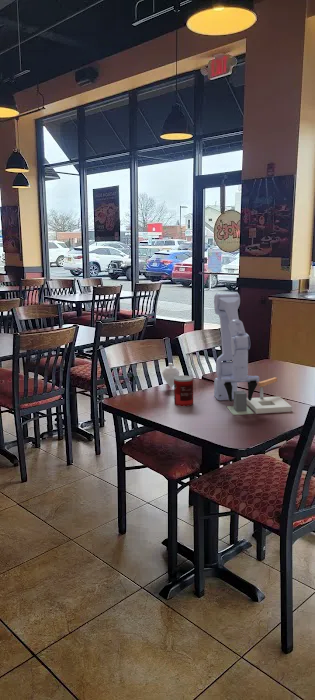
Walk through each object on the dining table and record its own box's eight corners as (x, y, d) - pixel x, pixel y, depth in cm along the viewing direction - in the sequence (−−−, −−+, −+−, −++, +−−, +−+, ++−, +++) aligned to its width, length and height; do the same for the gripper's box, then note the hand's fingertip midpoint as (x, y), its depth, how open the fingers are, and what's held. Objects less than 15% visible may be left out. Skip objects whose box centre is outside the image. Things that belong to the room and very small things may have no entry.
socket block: (256, 413, 196) (256, 396, 195) (245, 402, 210) (246, 386, 208) (291, 411, 197) (292, 393, 196) (279, 401, 211) (279, 384, 210)
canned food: (180, 399, 216) (180, 374, 214) (197, 402, 212) (196, 376, 209) (170, 404, 210) (169, 378, 208) (187, 407, 205) (186, 381, 203)
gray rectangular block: (236, 411, 198) (236, 394, 197) (233, 408, 202) (233, 391, 200) (246, 411, 198) (246, 393, 197) (243, 407, 202) (243, 390, 201)
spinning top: (178, 391, 229) (177, 365, 226) (161, 391, 230) (160, 365, 228) (180, 386, 236) (180, 361, 234) (164, 386, 237) (163, 361, 235)
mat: (233, 415, 195) (233, 414, 195) (226, 407, 205) (226, 406, 205) (253, 413, 196) (253, 413, 196) (246, 406, 206) (246, 405, 206)
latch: (262, 386, 206) (262, 383, 205) (257, 385, 207) (257, 382, 207) (278, 381, 213) (278, 378, 213) (273, 380, 215) (273, 377, 215)
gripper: (224, 369, 192) (224, 404, 195) (261, 367, 194) (261, 402, 196) (219, 365, 199) (219, 399, 202) (256, 363, 201) (255, 397, 203)
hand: (240, 400), depth 199 cm, fingers open, 7 cm apart
